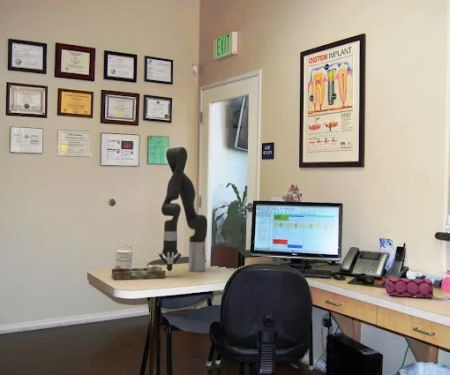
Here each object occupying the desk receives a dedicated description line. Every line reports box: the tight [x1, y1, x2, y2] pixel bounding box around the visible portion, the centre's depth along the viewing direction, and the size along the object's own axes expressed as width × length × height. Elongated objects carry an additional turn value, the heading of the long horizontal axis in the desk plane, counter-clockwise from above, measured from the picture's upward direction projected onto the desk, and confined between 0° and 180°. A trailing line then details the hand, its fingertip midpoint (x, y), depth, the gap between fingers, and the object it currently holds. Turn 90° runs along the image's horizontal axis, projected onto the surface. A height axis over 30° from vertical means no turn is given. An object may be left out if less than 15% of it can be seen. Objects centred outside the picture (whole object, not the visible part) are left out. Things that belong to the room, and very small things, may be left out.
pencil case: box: [385, 274, 434, 298], centre depth 234 cm, size 21×10×10 cm, turn 81°
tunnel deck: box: [111, 267, 166, 281], centre depth 265 cm, size 27×12×4 cm, turn 109°
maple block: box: [147, 264, 162, 271], centre depth 268 cm, size 6×6×4 cm
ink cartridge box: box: [114, 244, 133, 269], centre depth 283 cm, size 9×5×15 cm, turn 84°
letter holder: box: [209, 244, 246, 270], centre depth 307 cm, size 10×20×14 cm, turn 59°
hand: (169, 270), depth 271 cm, fingers closed
